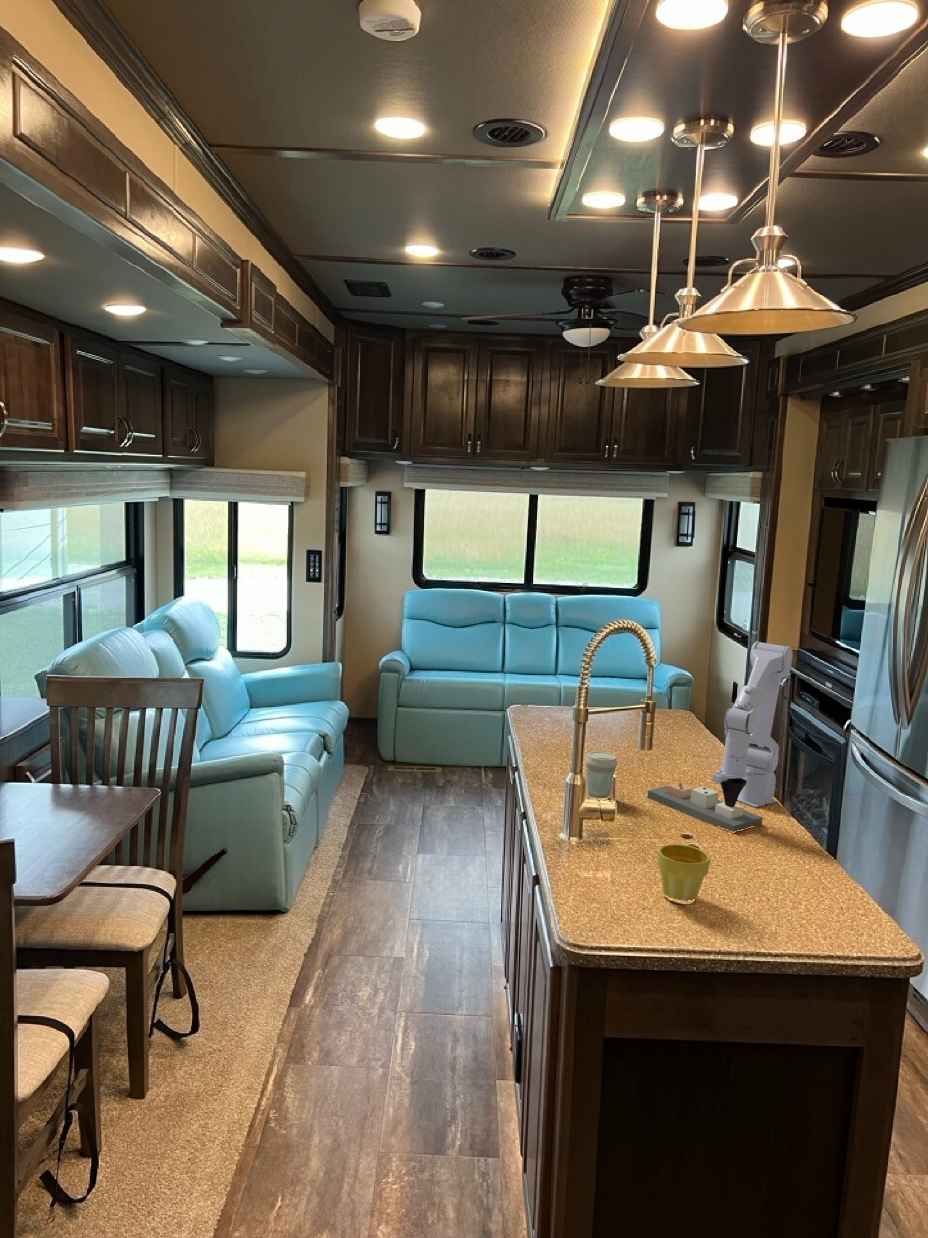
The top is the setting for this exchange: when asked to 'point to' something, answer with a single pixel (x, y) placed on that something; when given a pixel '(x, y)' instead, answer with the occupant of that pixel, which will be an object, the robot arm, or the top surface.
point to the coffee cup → (600, 773)
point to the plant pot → (682, 870)
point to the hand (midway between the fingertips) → (729, 805)
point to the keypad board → (704, 811)
